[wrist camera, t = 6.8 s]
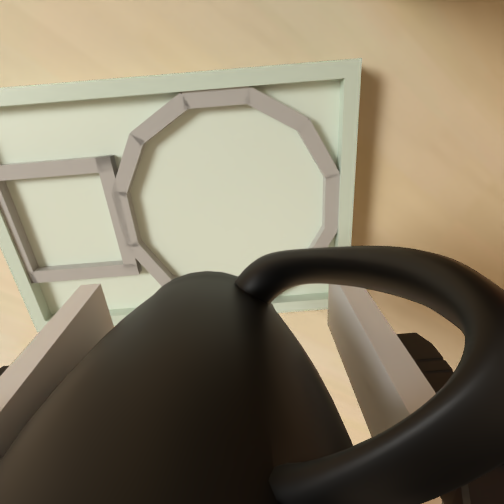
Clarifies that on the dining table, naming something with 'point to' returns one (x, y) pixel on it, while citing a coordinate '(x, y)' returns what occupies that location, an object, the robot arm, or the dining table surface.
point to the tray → (174, 179)
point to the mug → (261, 397)
